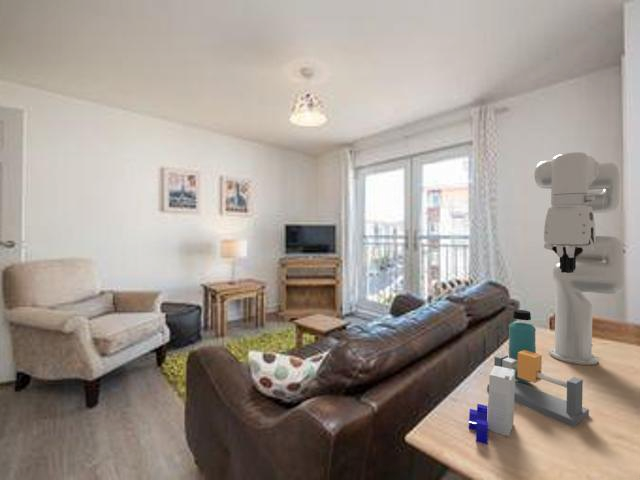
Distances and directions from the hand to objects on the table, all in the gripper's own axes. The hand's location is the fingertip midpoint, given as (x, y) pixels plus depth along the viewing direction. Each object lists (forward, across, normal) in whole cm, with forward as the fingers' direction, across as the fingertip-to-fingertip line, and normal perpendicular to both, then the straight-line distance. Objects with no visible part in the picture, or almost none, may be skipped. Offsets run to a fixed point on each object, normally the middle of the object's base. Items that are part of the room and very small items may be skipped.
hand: (567, 272), depth 85 cm
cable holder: (+31, +2, +36) cm, 48 cm away
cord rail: (+31, +1, +14) cm, 34 cm away
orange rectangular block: (+26, +2, +14) cm, 29 cm away
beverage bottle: (+31, +8, +6) cm, 33 cm away
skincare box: (+31, 0, +31) cm, 44 cm away
